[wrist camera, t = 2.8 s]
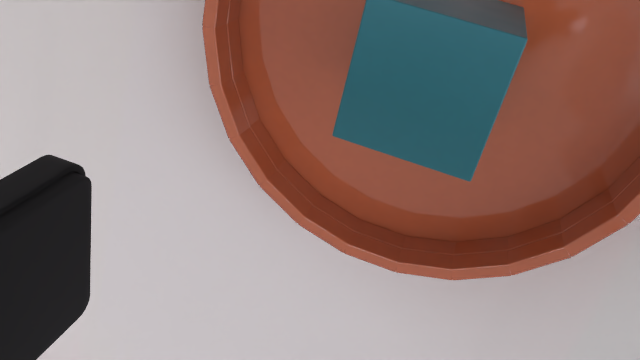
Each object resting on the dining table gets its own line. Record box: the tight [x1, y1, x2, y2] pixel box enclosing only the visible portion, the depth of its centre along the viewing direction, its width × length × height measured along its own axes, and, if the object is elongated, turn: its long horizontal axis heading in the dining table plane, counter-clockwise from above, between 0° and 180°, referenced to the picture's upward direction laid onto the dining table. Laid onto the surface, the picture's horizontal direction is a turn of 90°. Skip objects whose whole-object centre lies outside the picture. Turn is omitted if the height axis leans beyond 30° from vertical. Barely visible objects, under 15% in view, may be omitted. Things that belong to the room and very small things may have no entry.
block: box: [332, 0, 528, 182], centre depth 21 cm, size 5×5×6 cm
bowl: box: [202, 0, 640, 280], centre depth 23 cm, size 19×19×3 cm
